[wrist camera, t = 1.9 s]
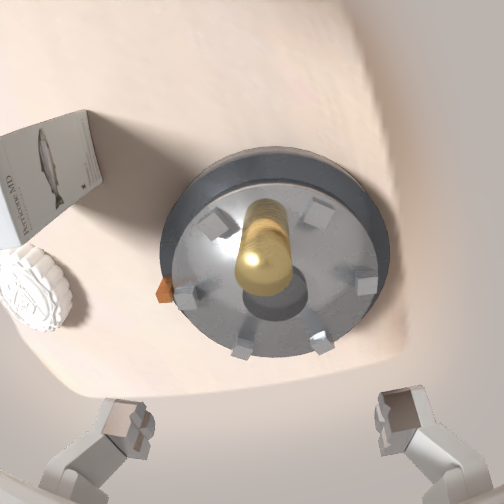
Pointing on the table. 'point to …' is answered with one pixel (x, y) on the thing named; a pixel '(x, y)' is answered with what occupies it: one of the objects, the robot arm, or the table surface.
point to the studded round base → (274, 269)
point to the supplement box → (44, 174)
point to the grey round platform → (271, 166)
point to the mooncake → (34, 288)
